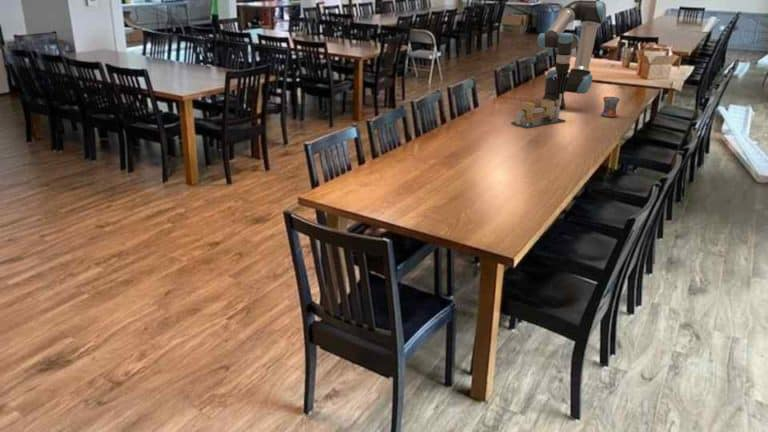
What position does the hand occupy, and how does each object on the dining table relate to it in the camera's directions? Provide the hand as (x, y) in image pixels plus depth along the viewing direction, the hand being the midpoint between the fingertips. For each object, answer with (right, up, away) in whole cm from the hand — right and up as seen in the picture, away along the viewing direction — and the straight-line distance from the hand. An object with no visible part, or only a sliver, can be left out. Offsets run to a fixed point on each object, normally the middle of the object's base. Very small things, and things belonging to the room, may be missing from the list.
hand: (558, 104), depth 343 cm
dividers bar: (-11, -10, -2) cm, 15 cm away
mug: (+35, -3, +17) cm, 39 cm away
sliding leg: (-6, -8, +1) cm, 10 cm away
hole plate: (-11, -10, -2) cm, 16 cm away
